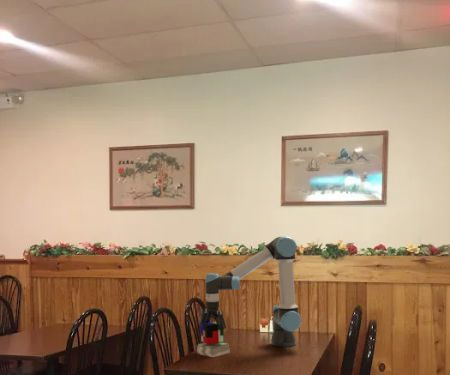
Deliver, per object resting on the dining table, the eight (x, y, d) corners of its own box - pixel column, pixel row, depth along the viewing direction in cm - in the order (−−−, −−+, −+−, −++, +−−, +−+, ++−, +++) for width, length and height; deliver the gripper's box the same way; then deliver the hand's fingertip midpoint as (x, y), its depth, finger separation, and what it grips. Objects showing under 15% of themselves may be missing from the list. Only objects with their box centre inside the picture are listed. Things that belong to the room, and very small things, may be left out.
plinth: (229, 352, 265) (229, 343, 266) (212, 357, 256) (212, 347, 257) (213, 349, 274) (213, 340, 275) (197, 353, 265) (196, 344, 266)
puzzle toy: (201, 341, 269) (200, 323, 270) (217, 339, 272) (217, 321, 273) (207, 344, 259) (206, 325, 260) (224, 342, 263) (223, 324, 264)
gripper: (193, 300, 275) (194, 338, 272) (222, 303, 257) (223, 344, 255) (203, 298, 280) (204, 336, 277) (232, 301, 263) (232, 341, 260)
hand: (213, 340), depth 266 cm, fingers closed on puzzle toy, 12 cm apart
